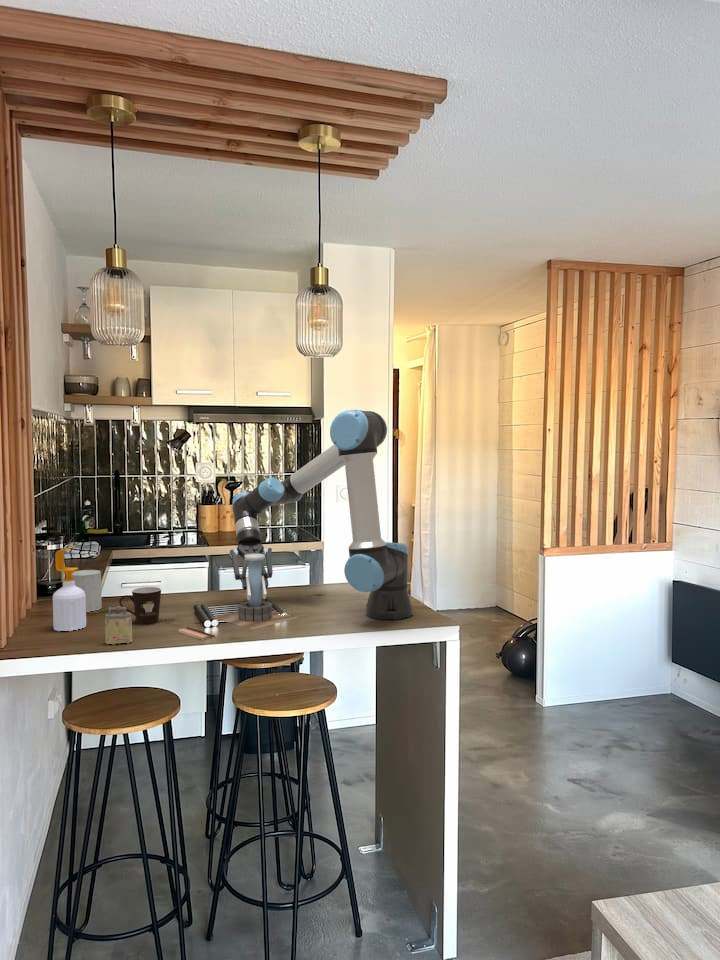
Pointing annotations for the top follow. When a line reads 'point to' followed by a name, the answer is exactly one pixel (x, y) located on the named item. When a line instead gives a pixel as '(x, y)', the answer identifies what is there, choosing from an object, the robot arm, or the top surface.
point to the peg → (255, 578)
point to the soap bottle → (68, 599)
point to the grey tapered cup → (90, 587)
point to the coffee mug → (145, 604)
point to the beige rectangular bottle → (118, 626)
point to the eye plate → (254, 624)
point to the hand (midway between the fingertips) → (257, 596)
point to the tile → (195, 633)
